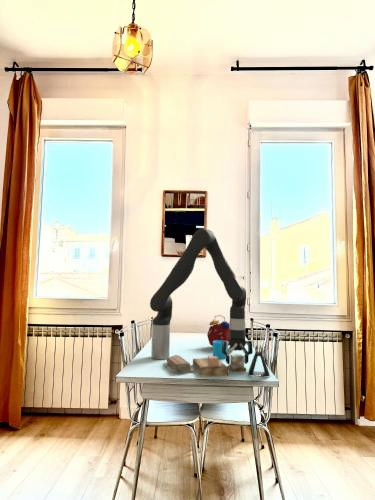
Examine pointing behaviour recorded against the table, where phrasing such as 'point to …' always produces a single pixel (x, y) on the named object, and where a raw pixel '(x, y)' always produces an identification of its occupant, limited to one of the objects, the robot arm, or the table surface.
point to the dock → (209, 368)
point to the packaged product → (178, 365)
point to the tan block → (237, 363)
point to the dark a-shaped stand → (251, 369)
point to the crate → (213, 361)
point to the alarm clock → (218, 331)
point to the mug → (218, 349)
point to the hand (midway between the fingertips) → (237, 363)
